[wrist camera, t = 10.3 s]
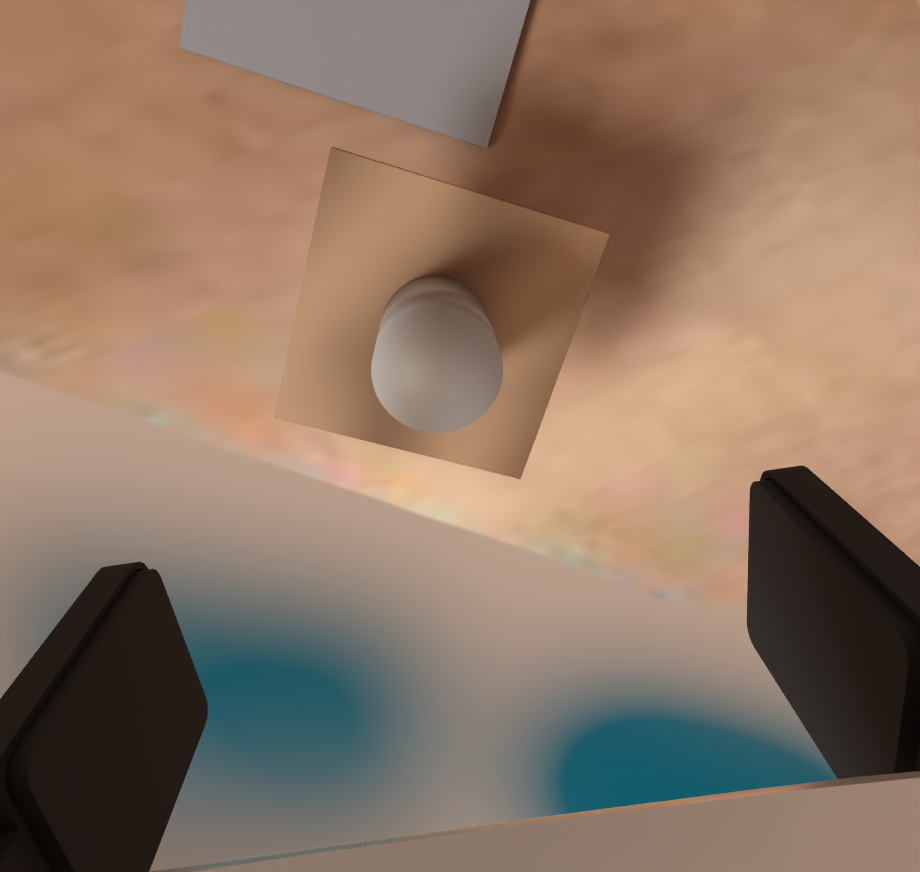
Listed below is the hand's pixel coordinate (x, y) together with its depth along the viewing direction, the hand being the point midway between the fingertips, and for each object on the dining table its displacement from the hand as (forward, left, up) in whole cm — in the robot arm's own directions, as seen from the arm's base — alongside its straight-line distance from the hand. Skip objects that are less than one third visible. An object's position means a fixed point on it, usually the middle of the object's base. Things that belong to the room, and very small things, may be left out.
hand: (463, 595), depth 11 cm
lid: (0, 0, -17) cm, 17 cm away
